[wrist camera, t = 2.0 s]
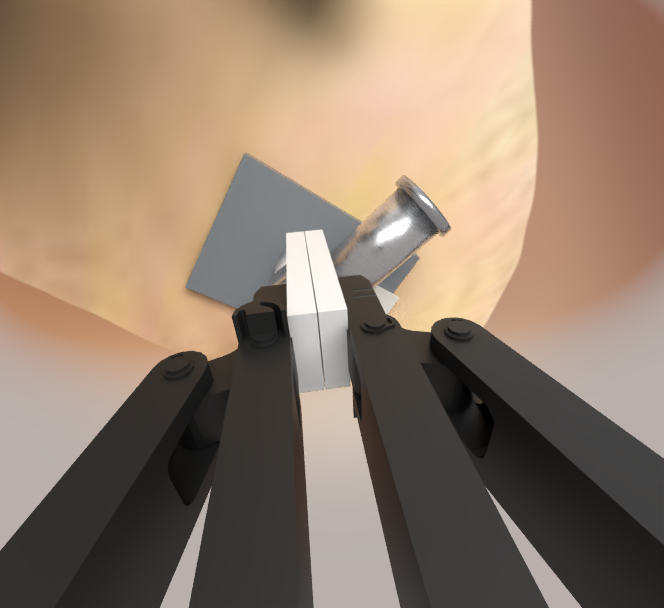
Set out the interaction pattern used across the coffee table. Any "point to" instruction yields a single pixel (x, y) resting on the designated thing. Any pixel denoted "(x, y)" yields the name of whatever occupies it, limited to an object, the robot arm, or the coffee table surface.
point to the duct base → (269, 235)
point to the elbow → (386, 236)
